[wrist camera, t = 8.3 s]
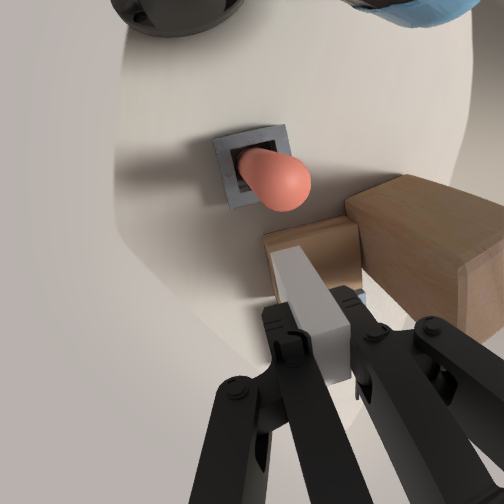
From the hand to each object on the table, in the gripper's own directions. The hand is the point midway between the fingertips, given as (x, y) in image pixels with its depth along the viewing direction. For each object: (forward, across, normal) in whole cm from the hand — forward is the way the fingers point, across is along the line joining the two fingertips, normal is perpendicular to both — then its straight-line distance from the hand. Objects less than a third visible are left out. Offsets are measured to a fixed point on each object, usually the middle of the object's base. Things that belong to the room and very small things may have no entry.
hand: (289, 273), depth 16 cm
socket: (+19, +1, +3) cm, 19 cm away
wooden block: (+19, +16, -7) cm, 26 cm away
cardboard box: (+19, +5, -9) cm, 22 cm away
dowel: (+19, +1, +3) cm, 19 cm away
